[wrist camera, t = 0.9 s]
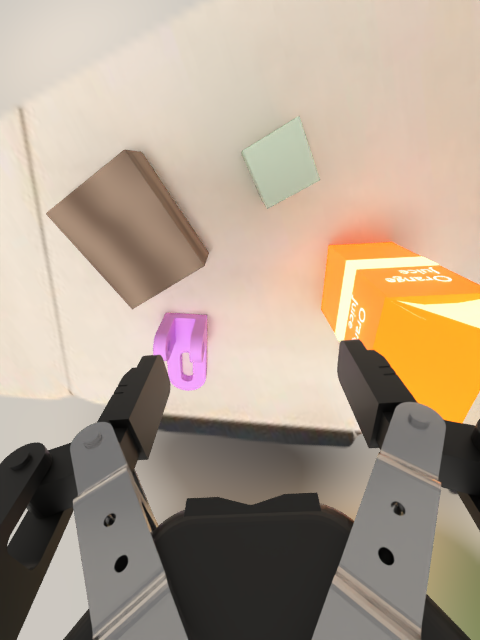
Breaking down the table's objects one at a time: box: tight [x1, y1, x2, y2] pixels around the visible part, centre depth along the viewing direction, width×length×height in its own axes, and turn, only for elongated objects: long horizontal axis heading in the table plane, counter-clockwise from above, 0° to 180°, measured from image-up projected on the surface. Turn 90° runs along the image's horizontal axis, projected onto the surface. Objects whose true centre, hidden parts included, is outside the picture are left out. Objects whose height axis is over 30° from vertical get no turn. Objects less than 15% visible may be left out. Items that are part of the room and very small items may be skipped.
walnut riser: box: [46, 150, 209, 309], centre depth 29 cm, size 10×12×5 cm
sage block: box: [241, 116, 320, 209], centre depth 25 cm, size 5×5×6 cm
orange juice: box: [321, 242, 480, 423], centre depth 25 cm, size 8×9×20 cm
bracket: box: [153, 313, 207, 390], centre depth 37 cm, size 13×6×7 cm, turn 176°
